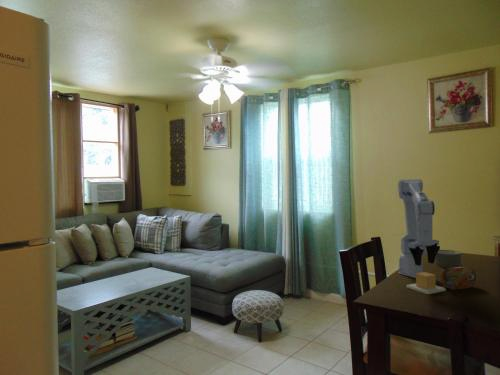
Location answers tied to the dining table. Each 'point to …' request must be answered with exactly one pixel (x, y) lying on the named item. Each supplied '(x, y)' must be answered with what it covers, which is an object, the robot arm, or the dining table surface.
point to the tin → (458, 277)
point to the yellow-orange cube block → (425, 280)
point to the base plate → (426, 291)
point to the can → (448, 259)
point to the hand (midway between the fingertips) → (424, 264)
